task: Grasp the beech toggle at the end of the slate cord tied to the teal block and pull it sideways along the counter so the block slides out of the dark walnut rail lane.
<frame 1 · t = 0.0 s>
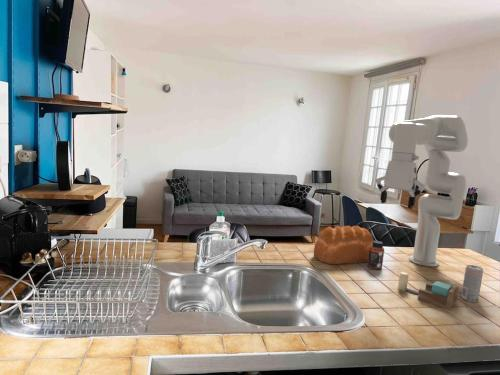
hand: (396, 205, 136), 31 cm above the counter, tool pointing down, fingers open, 9 cm apart
supplement bottle: (374, 267, 161), on the counter
bread: (343, 259, 170), on the counter
tethered block: (439, 301, 131), on the counter
energy drink: (469, 299, 134), on the counter
lane: (435, 299, 132), on the counter
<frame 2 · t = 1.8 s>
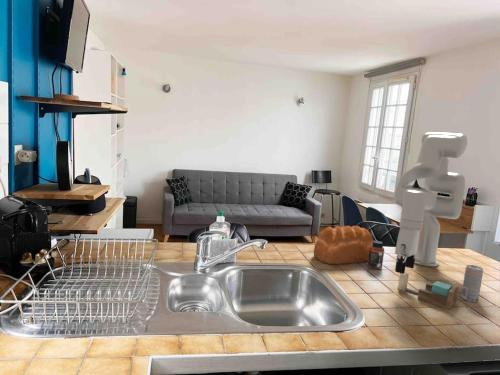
hand: (404, 269, 138), 8 cm above the counter, tool pointing down, fingers open, 9 cm apart
nothing on the counter moved.
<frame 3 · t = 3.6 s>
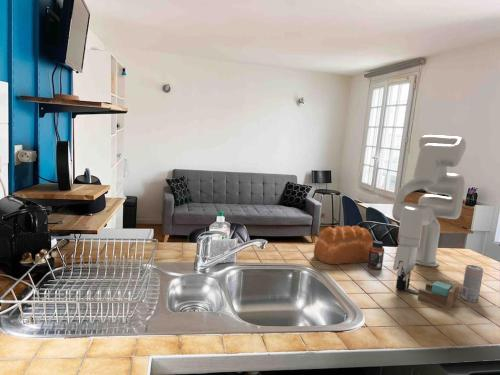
hand: (402, 288, 139), 0 cm above the counter, tool pointing down, fingers closed on tethered block, 3 cm apart
tethered block: (439, 301, 131), on the counter, touching gripper
everything else where it was.
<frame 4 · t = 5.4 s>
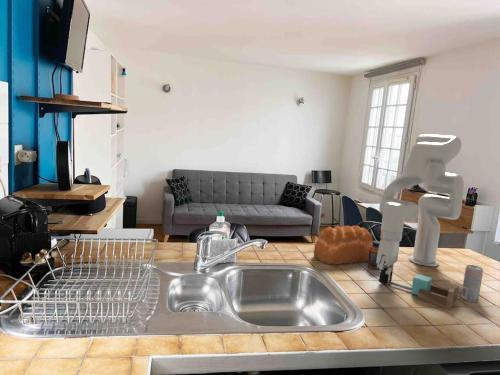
hand: (385, 281, 143), 1 cm above the counter, tool pointing down, fingers closed on tethered block, 3 cm apart
tethered block: (420, 293, 135), on the counter, touching gripper
everything else where it was.
when the fingers open (1 cm above the counter, at t = 7.1 s): tethered block stays where it is, on the counter.
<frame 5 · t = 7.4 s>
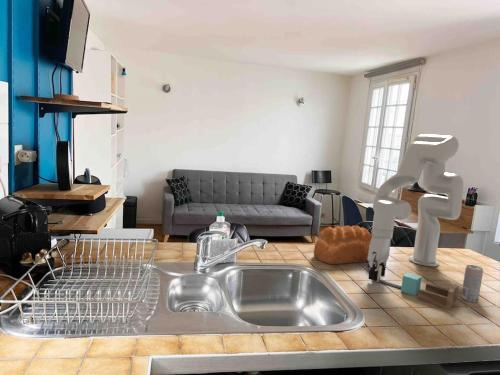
hand: (376, 277, 145), 1 cm above the counter, tool pointing down, fingers open, 6 cm apart
tethered block: (410, 291, 137), on the counter
everything else where it was.
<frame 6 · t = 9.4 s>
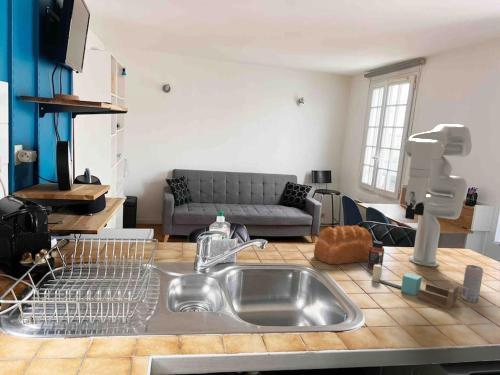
hand: (414, 216, 146), 26 cm above the counter, tool pointing down, fingers open, 9 cm apart
nothing on the counter moved.
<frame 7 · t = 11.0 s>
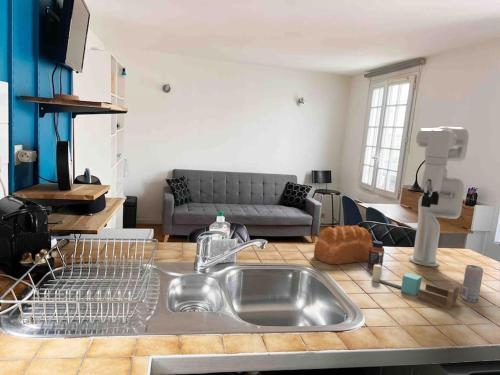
hand: (429, 205, 146), 30 cm above the counter, tool pointing down, fingers open, 9 cm apart
nothing on the counter moved.
at the end: tethered block inside the target area (1.4 cm from its centre), on the counter; the gripper is holding nothing; tethered block moved 10.1 cm from its start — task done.
